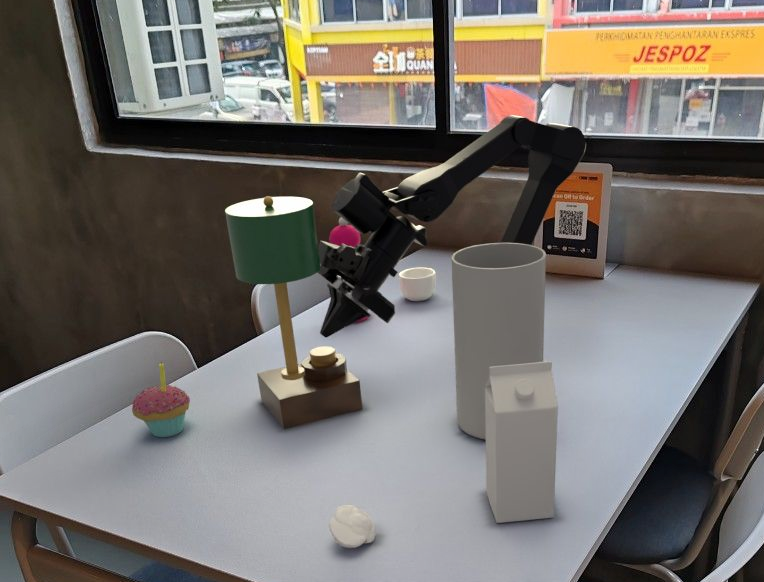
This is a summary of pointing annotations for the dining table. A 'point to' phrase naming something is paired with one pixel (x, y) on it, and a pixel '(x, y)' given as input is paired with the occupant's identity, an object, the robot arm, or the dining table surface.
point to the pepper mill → (345, 237)
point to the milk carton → (521, 441)
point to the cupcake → (162, 408)
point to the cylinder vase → (494, 319)
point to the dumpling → (351, 527)
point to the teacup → (417, 283)
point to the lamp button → (322, 356)
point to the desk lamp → (275, 254)
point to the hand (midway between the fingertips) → (322, 335)
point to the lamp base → (310, 393)
